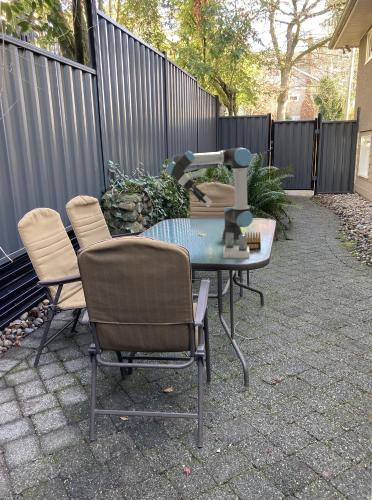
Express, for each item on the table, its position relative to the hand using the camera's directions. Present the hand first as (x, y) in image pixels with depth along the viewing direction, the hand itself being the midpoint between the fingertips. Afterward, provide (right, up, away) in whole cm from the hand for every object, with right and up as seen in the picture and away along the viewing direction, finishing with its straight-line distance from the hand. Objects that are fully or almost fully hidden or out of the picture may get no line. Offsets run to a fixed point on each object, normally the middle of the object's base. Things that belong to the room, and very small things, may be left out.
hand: (210, 204), depth 250 cm
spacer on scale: (+19, -29, -14) cm, 37 cm away
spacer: (+12, -27, -6) cm, 31 cm away
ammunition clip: (+28, -29, +2) cm, 40 cm away
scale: (+16, -32, -8) cm, 37 cm away
